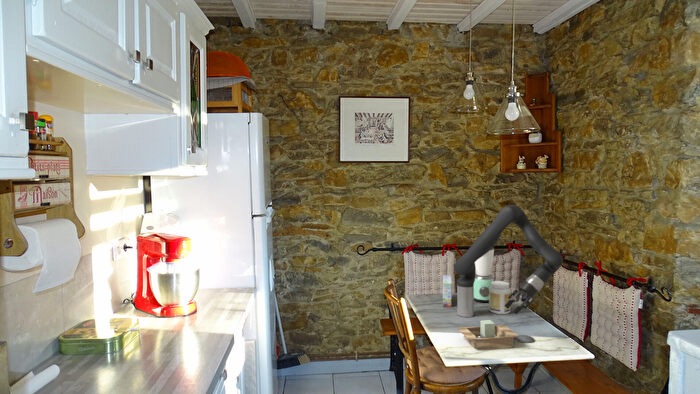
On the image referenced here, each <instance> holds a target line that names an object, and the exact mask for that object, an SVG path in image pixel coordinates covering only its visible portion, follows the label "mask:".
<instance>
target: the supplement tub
mask: <svg viewBox="0 0 700 394" xmlns="http://www.w3.org/2000/svg"><path fill="white" fill-rule="evenodd" d="M490 286H491V287H490V288H489V302H488V310H489V311H490V312H491V313H494V314H497V315H507V314H510V313H511V310H512V309H511V308H512V307H511V306H512V305H511V306H510V307H509V308H508V309H507V308H506V307H505V304H506V303H507V302H508V301H509V298H508V297H509V296H510V295H511V294H512V291H511V288H510V283H509V282H506V281H502V280H498V281H497V280H494V281H493V282H491V285H490Z"/></svg>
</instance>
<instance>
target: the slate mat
mask: <svg viewBox="0 0 700 394" xmlns="http://www.w3.org/2000/svg"><path fill="white" fill-rule="evenodd" d="M517 335H518V336H520V337H514V339H513V340H515V341H516V340H517V342H519V343H524V344H530V343H531V342H532V343H533V341H534V342H535V338H534V337H532V336H530V335H526V334H517Z"/></svg>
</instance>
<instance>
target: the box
mask: <svg viewBox="0 0 700 394" xmlns="http://www.w3.org/2000/svg"><path fill="white" fill-rule="evenodd" d="M495 325H496V323H495V322H494V321H492V320H491V319H484V320H480V325H479V326H480V337H479V338H492V337H496V336H495Z"/></svg>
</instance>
